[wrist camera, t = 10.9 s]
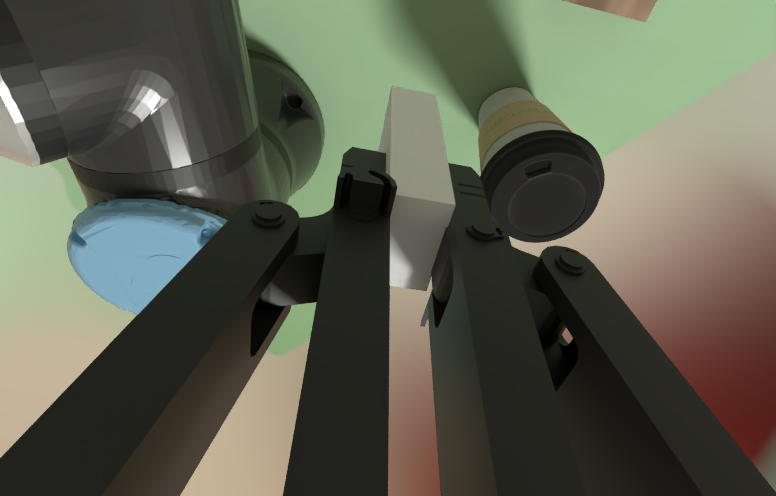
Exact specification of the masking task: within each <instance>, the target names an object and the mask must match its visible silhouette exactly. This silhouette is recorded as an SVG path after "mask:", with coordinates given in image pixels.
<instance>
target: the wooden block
mask: <svg viewBox="0 0 776 496" xmlns="http://www.w3.org/2000/svg"><path fill="white" fill-rule="evenodd" d="M563 1H566V2H570V3H574V4H578V5H582V6H586V7H590V8H593V9H597V10H601V11H605V12H609V13H613V14H616V15H620V16H624V17H628V18H632V19H636V20H639V21H643V22H646V21H647V19H648V17H649V15H650V13H651V11H652V9H653V7H654V5H655V3H656V1H657V0H563Z"/></svg>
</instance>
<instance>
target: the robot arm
mask: <svg viewBox="0 0 776 496" xmlns="http://www.w3.org/2000/svg"><path fill="white" fill-rule="evenodd" d="M323 145H324V123H323V118H322V114H321V111H320V108H319V106H318V103H317V101H316V99H315V97H314V96H313V94H312V92H311V91H310V90H309V88H308V87H307V86H306V84H305V83H304V82H303V81H302V80H301V79H300V78H299V77H298V76H297V75H296V74H295V73H294V72H293V71H292V70H290V69H289V68H288V67H286V66H285V65H283V64H282V63H280V62H279V61H277V60H275V59H273V58H271V57H269V56H266V55H264V54H261V53H258V52H254V51H250V50H247V46H246V40H245V35H244V29H243V24H242V18H241V12H240V7H239V1H238V0H0V156H3V157H6V158H8V159H11V160H14V161H17V162H20V163H22V164H25V165H28V166H31V167H34V166H38V165H41V164H45V163H48V162H51V161H55V160H58V159H61V158H65V157H67V159H68V162H69V164H70V166H71V168H72V170H73V172H74V174H75V176H76V179H77V181H78V183H79V185H80V187H81V189H82V192H83V194H84V196H85V198H86V201H87V208H86V209H85V210H84V211H83V212H81V213H80V214H78V215H77V217H76V218H75V219H74V221H73V227H72V231H71V233H70V235H69V238H68V242H67V250H68V256H69V260H70V262H71V265H72V267H73V268H74V270H75V272H76V273H77V275H78V276H79V277H80V278H81V279H82V281H83V282H84V283H85V284H86V285H87V286H88V287H89V288H90V289H91V290H92V291H94V292H95V293H96V294H97V295H99V296H100V297H101V298H103V299H104V300H106V301H108V302H110V303H111V304H113V305H115V306H116V307H118V308H120V309H122V310H126V311H129V312H132V313H134V314H136V315H137V316H136V317H135V318H134V319H133V320H132V321H131V322H130V323H129V324H128V325H127V326H126V328H125V329H124V330H123V331H122V332H121V333H120V334H119V335H118V336H117V337H116V338H115V339H114V340H113V341H112V342H111V343H110V344H109V345H108V346H107V347H106V349H104V351H103V352H102V353H101V354H100V355H99V356H98V357H97V358H96V359H95V360H94V361H93V362H92V363H91V364H90V365H89V366H88V367H87V368H86V369H85V370H84V371H83V373H81V375H80V376H79V377H78V378H77V379H76V380H75V381H74V382H73V383H72V384H71V385H70V386H69V387H68V388H67V389H66V390H65V391H64V392H63V393H62V394H61V395H60V396H59V397H58V399H57V400H56V401H55V402H54V403H53V404H52V405H51V406H50V407H49V408H48V409H47V410H46V411H45V412H44V413H43V414H42V415H41V416H40V417H39V418H38V420H37V421H36V422H35V423H34V424H33V425H32V426H31V427H30V428H29V429H28V430H27V431H26V432H25V433H24V434H23V435H22V436H21V437H20V438H19V439H18V440H17V441H16V442H15V444H13V446H12V447H11V448H10V449H9V450H8V451H7V452H6V453H5V454H4V455H3V456H2V457H1V458H0V496H180V494H181V493H182V491H183V490H184V488H185V486H186V484H187V483H188V481H189V479H190V478H191V476H192V474H193V473H194V471H195V469H196V468H197V466H198V464H199V463H200V461H201V459H202V458H203V456H204V454H205V453H206V451H207V449H208V447H209V446H210V444H211V443H212V441H213V439H214V438H215V436H216V434H217V433H218V431H219V429H220V427H221V426H222V424H223V422H224V421H225V419H226V417H227V416H228V414H229V412H230V411H231V409H232V407H233V406H234V404H235V402H236V400H237V399H238V397H239V395H240V394H241V392H242V391H243V389H244V387H245V386H246V384H247V382H248V381H249V379H250V377H251V376H252V374H253V372H254V370H255V369H256V367H257V365H258V364H259V362H260V360H261V359H262V357H263V355H264V354H265V352H266V350H267V349H268V347H269V345H270V344H271V342H272V340H273V339H274V337H275V335H276V334H277V332H278V330H279V329H280V327H281V325H282V324H283V322H284V320H285V319H286V317H287V315H288V313H289V312H290V309H291V305H296V304H304V303H313V302H317V304H316V309H315V315H314V321H313V327H312V332H311V338H310V344H309V349H308V355H307V361H306V367H305V372H304V378H303V384H302V390H301V395H300V401H299V407H298V412H297V419H296V424H295V430H294V435H293V441H292V447H291V452H290V458H289V464H288V470H287V475H286V481H285V487H284V493H283V496H388V416H389V411H388V410H389V301H390V286H396V287H403V288H410V289H416V290H423V291H427V288H428V285H429V282H430V279H431V276H432V287H433V289H432V292H431V295H430V298H429V300H428V303H427V306H426V309H425V312H424V315H423V318H422V321H421V326H425V324H426V321H427V319H429V333H430V347H431V361H432V377H433V390H434V404H435V419H436V434H437V448H438V463H439V477H440V491H441V496H776V492H775V491H774V489H773V488H772V487H771V486H770V485H769V483H768V482H767V481H766V480H765V478H764V477H763V476H762V475H761V473H760V472H759V471H758V469H757V468H756V467H755V466H754V464H753V463H752V462H751V461H750V459H749V458H748V457H747V456H746V455H745V453H744V452H743V451H742V449H741V448H740V447H739V446H738V444H737V443H736V442H735V441H734V439H733V438H732V437H731V436H730V434H729V433H728V432H727V431H726V429H725V428H724V427H723V426H722V424H721V423H720V422H719V421H718V419H717V418H716V417H715V415H714V414H713V413H712V412H711V410H710V409H709V408H708V407H707V406H706V404H705V403H704V402H703V401H702V399H701V398H700V397H699V396H698V394H697V393H696V392H695V390H694V389H693V388H692V387H691V386H690V384H689V383H688V382H687V380H686V379H685V378H684V377H683V375H682V374H681V373H680V372H679V370H678V369H677V368H676V367H675V365H674V364H673V363H672V362H671V361H670V359H669V358H668V357H667V355H666V354H665V353H664V352H663V350H662V349H661V348H660V347H659V345H658V344H657V343H656V342H655V340H654V339H653V338H652V337H651V335H650V334H649V333H648V332H647V330H646V329H645V328H644V327H643V326H642V324H641V323H640V321H639V320H638V319H637V318H636V316H635V315H634V314H633V313H632V311H631V310H630V309H629V308H628V306H627V305H626V304H625V303H624V301H623V300H622V299H621V298H620V296H619V295H618V294H617V293H616V291H615V290H614V289H613V288H612V286H611V285H610V284H609V283H608V281H607V280H606V279H605V278H604V276H603V275H602V274H601V273H600V271H599V270H598V269H597V268H596V267H595V265H594V264H593V263H592V262H591V261H590V260H589V259H588V258H587V257H585V256H584V255H582V254H580V253H579V252H578V251H576V250H573V249H570V248H567V247H561V246H551V247H547V248H546V249H544V250H543V251H542V253H541V255H540V257H536V256H534V255H531V254H529V253H526V252H523V251H521V250H518V249H516V248H514V247H512V246H511V242H510V239H509V236H508V235H507V233H506V231H505V230H504V229H503V228H502V227H501V226H500V225H499V224H497V223H495V222H493V221H492V218H491V215H490V211H489V207H488V204H487V200H486V198H485V193H484V190H483V185H482V182H481V178H480V177H479V175H478V174H477V173H476V172H475V171H474V170H473V169H472V168H471V167H467V166H461V165H456V164H450V163H448V159H447V154H446V148H445V142H444V137H443V131H442V126H441V120H440V114H439V109H438V103H437V97H436V94H430V93H425V92H420V91H415V90H410V89H405V88H400V87H395V86H392V87H391V91H390V96H389V101H388V106H387V111H386V116H385V121H384V126H383V131H382V136H381V141H380V146H379V151H378V152H377V151H371V150H366V149H360V148H355V147H352V148H350V149H349V150H348V151H347V152H346V153H344V154H343V159H342V165H341V171H340V174H339V176H338V179H337V186H336V193H335V199H334V206H333V207H332V208H331V209H330V210H329V211H328V212H326V213H324V214H322V215H319V216H315V217H305V218H299V215H298V212H297V211H296V210H295V209H294V208H292V207H291V206H289V205H287V202H288V199H289V197H291V196H292V195H293V194H294V193H295V192H296V191H297V190H299V189H300V188H301V187H303V186H304V185H305V184H306V183H307V182H308V180H309V179H310V178H311V176H312V175H313V173H314V172H315V170H316V168H317V166H318V163H319V160H320V157H321V153H322V149H323ZM565 328H567V329H568V331H569V332H570V334H571V335H572V337H573V340H572V341H571V343H569V344H568V343H567V342H566V341H565V339H564V338H563V336H562V333H563V332H564V330H565Z"/></svg>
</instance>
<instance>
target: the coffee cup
mask: <svg viewBox="0 0 776 496" xmlns="http://www.w3.org/2000/svg"><path fill="white" fill-rule="evenodd" d="M478 124H479V138H478V143H479V156H480V168H481V176H480V178H481V182H482V185H483V190H484V193H485V198H486V200H487V204H488V207H489V211H490V215H491V218H492V221H493V222H495V223H497V224H499V225H500V226H501V227H502V228H503V229H504V230H505V231H506V233H507V235H508V236H510V237H512V238H515V239H517V240H520V241H524V242H534V243H539V242H548V241H552V240H556V239H559V238H562V237H564V236H566V235H568V234H570V233H571V232H573V231H575V230H576V229H578V228H579V227H580V226H582V225H583V224H584V223H585V222H586V221H587V220H588V219H589V217H590V216H591V215H592V213H593V212H594V210H595V208H596V206H597V204H598V201H599V199H600V196H601V194H602V191H603V187H604V169H603V166H602V161H601V158H600V156H599V154H598V152H597V151H596V149H595V148H594V147H593V146H592V144H590V143H589V142H588V141H587V140H586V139H584V138H583V137H581V136H579V135H577V134H574V133H573V132H572V131H571V130H570V129H569V128H568V127H567V126H566V125H565V124H564V123H563V122H562V121H561V120H560V119H559V118H558V117H557V116H556V115H555V114H554V113H553V112H552V111H551V110H550V109H548V108H547V107H546V106H545V105H543V104H542V103H540V102H539V101H538V100H537V99H536V98H535V97H534V96H533V95H532V94H531V93H530V92H528V91H527V90H525V89H522V88H519V87H511V88H505V89H502V90H499V91H497V92H495V93H494V94H492V95H491V96H489V97H488V98H487V99H486V100H485V101H484V103H483V104H482V106H481V108H480V110H479V115H478Z"/></svg>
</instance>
